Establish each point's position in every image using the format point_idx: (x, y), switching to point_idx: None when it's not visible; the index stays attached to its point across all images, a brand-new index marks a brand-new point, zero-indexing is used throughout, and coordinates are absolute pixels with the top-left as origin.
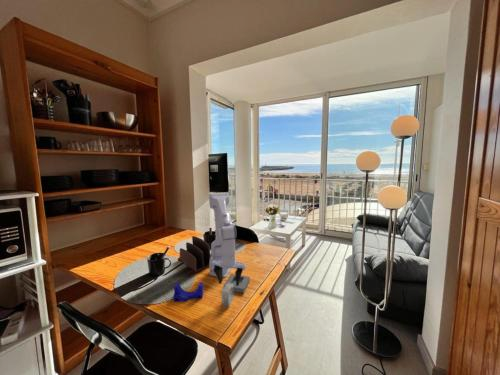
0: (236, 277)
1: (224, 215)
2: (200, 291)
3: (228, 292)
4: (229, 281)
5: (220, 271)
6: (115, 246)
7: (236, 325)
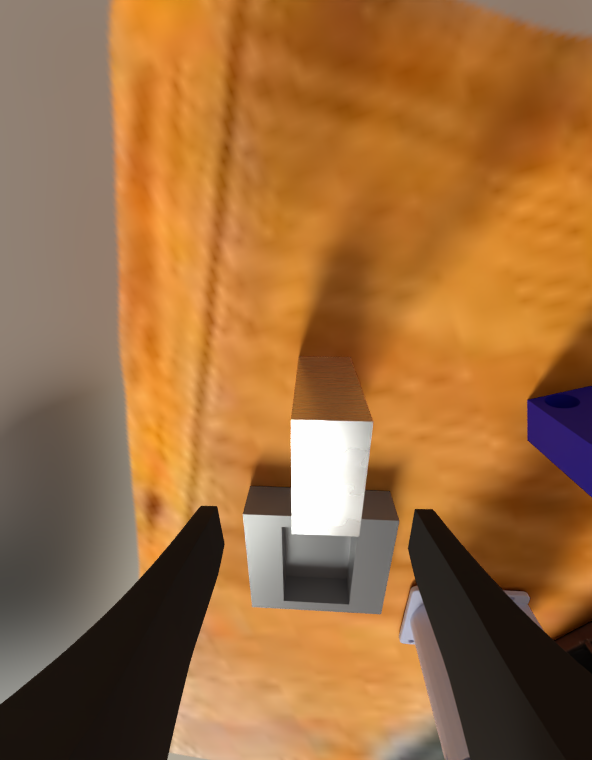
0: (136, 633)
1: None
2: (585, 428)
3: (291, 420)
4: (367, 558)
5: (503, 745)
6: None
7: (173, 198)
